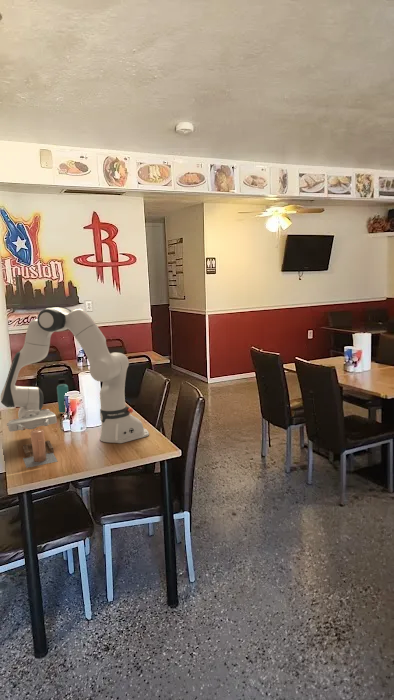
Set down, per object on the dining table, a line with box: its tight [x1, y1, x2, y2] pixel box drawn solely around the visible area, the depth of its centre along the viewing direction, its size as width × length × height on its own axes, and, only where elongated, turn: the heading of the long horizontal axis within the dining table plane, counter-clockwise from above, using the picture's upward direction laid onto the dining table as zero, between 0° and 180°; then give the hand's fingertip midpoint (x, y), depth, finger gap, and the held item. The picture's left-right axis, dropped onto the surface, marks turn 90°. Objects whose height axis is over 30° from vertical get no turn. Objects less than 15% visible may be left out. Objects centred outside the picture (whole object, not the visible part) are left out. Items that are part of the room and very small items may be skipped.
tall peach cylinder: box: [30, 429, 47, 462], centre depth 187 cm, size 5×8×12 cm, turn 26°
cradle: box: [22, 440, 55, 458], centre depth 200 cm, size 11×11×2 cm
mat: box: [22, 452, 58, 469], centre depth 189 cm, size 12×12×1 cm
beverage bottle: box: [56, 378, 70, 413], centre depth 259 cm, size 6×7×20 cm
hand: (34, 426), depth 199 cm, fingers open, 8 cm apart
